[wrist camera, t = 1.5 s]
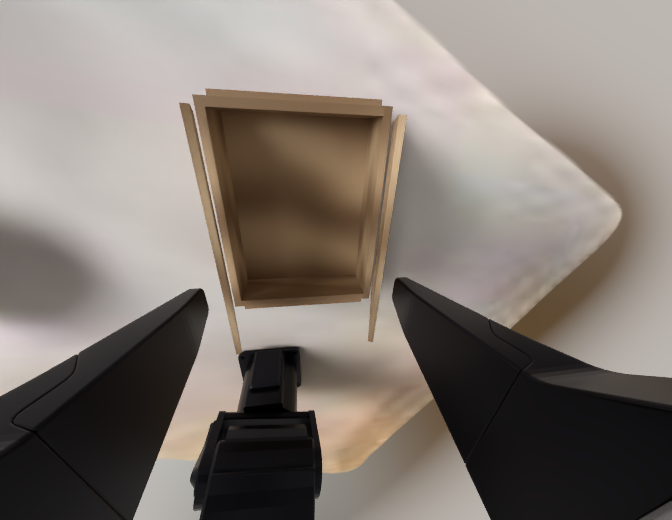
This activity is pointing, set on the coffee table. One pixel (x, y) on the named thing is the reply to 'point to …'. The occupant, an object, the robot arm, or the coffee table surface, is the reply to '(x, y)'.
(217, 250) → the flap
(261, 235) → the carton
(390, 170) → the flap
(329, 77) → the coffee table surface
